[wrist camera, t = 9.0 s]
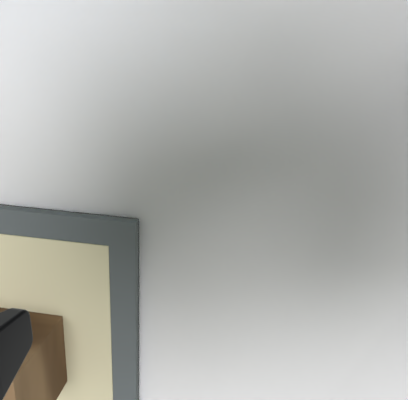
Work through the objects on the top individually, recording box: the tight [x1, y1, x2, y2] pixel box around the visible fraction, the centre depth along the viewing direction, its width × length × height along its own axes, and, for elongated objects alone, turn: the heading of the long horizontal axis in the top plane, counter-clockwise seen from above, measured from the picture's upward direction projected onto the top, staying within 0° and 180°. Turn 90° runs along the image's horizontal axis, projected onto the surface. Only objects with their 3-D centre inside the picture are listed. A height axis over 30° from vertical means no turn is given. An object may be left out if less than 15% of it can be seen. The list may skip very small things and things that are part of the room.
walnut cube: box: [0, 308, 67, 400], centre depth 22 cm, size 5×5×5 cm
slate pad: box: [0, 205, 139, 400], centre depth 24 cm, size 14×18×1 cm
